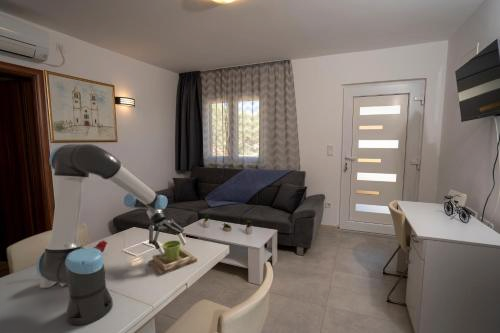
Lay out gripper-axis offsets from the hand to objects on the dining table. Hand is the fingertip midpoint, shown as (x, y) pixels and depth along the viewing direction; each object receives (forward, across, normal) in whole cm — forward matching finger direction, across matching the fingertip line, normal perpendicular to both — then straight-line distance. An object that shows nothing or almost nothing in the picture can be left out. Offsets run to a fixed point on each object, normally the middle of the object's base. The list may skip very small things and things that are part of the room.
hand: (174, 248), depth 133 cm
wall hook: (-13, +44, -25) cm, 53 cm away
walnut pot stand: (+4, 0, -7) cm, 8 cm away
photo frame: (-17, 0, -30) cm, 34 cm away
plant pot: (+4, 0, -6) cm, 7 cm away
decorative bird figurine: (-22, +26, -34) cm, 48 cm away
